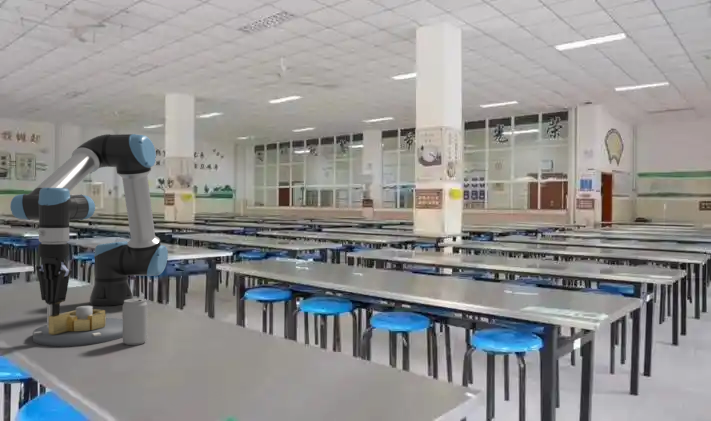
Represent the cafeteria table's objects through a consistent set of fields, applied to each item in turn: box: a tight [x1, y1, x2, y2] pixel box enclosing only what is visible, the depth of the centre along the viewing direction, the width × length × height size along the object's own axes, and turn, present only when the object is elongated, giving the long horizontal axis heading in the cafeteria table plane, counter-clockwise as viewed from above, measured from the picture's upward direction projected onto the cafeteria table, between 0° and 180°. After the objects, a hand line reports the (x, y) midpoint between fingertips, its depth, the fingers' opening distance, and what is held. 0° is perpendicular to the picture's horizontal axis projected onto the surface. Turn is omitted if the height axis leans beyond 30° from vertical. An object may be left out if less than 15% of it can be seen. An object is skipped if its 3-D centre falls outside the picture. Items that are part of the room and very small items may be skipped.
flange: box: [32, 305, 123, 347], centre depth 159 cm, size 26×26×8 cm
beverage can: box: [122, 298, 148, 346], centre depth 150 cm, size 6×6×12 cm
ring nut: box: [49, 308, 107, 335], centre depth 157 cm, size 16×11×5 cm
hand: (53, 326), depth 152 cm, fingers closed
